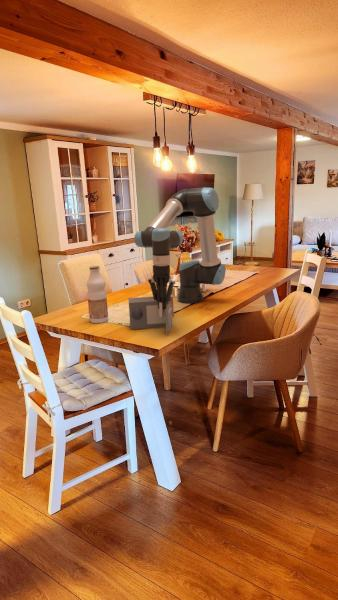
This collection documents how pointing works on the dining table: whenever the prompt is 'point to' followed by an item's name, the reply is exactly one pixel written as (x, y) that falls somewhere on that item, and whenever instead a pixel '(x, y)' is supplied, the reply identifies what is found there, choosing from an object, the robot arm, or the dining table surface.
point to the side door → (168, 317)
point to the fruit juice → (97, 296)
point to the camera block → (145, 313)
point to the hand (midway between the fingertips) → (162, 315)
